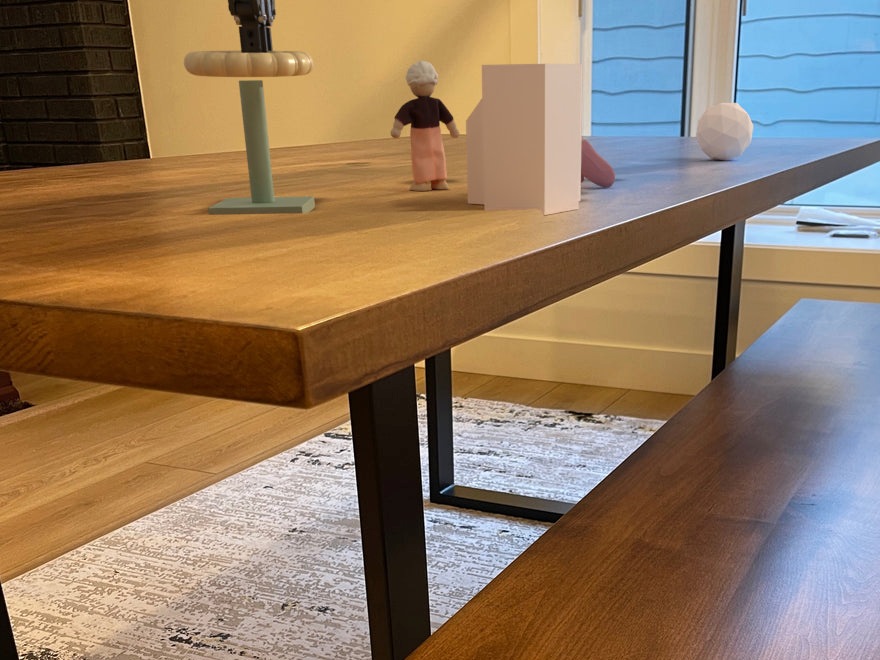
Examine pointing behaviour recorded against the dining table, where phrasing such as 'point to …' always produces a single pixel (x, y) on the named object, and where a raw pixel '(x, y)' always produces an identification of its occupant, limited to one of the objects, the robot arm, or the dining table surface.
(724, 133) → the geometric ball
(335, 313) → the dining table surface
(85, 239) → the dining table surface
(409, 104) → the grandmother figurine
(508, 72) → the white angular block
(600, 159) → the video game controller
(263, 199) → the green peg stand
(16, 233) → the dining table surface
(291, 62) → the bracelet
